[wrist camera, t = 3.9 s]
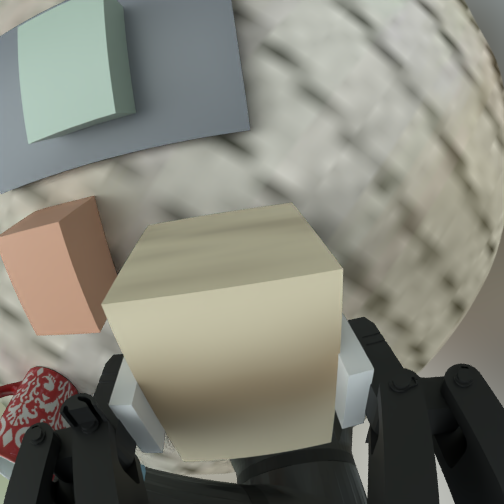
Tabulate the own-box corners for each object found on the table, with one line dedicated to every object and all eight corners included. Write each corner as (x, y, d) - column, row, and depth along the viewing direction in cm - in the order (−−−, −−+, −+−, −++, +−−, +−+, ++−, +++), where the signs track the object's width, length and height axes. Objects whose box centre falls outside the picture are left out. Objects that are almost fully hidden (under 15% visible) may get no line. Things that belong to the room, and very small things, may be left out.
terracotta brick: (122, 287, 24) (100, 332, 19) (65, 294, 24) (37, 335, 19) (94, 195, 21) (58, 221, 16) (36, 210, 21) (-6, 238, 16)
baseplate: (248, 129, 20) (256, 133, 15) (10, 189, 20) (-29, 209, 15) (224, -34, 15) (224, -71, 10) (-8, 49, 14) (-49, 45, 9)
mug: (93, 384, 29) (61, 487, 17) (81, 419, 32) (57, 504, 20) (0, 331, 26) (-56, 416, 13) (1, 374, 28) (-39, 449, 16)
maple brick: (301, 349, 16) (331, 442, 11) (190, 366, 16) (184, 461, 10) (291, 202, 13) (342, 269, 7) (148, 225, 13) (101, 304, 7)
